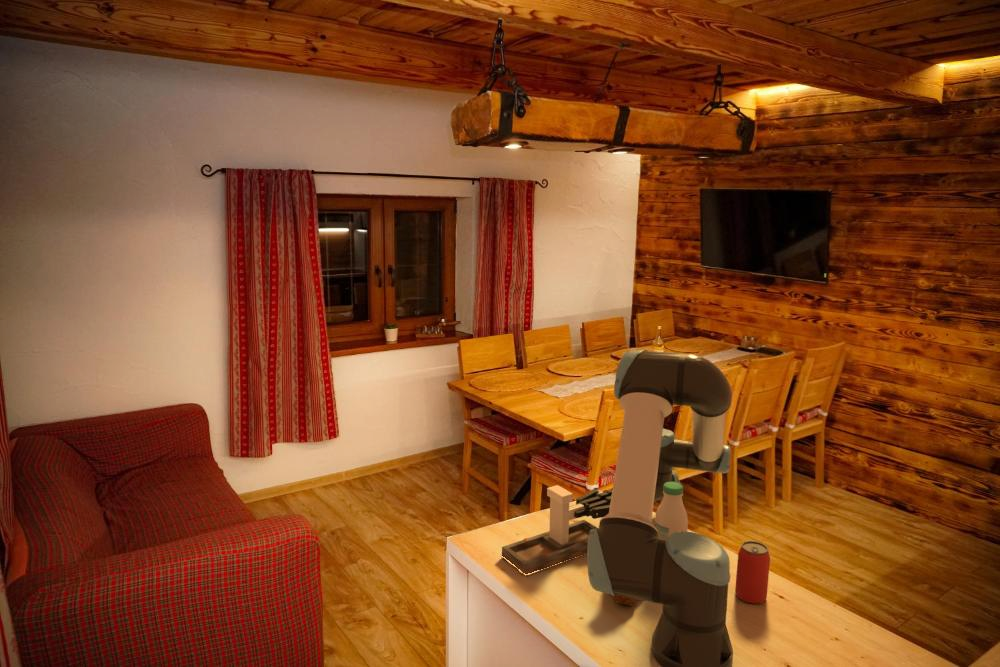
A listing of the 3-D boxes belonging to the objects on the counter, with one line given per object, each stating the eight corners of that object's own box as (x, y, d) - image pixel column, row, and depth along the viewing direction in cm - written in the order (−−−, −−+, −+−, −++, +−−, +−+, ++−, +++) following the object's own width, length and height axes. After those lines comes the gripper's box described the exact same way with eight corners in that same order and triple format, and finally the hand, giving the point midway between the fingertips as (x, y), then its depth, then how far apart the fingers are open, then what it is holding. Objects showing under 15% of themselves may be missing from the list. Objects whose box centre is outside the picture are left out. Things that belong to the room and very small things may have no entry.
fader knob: (558, 537, 174) (559, 483, 172) (574, 548, 169) (576, 493, 166) (542, 542, 172) (543, 488, 169) (559, 553, 166) (560, 498, 163)
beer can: (735, 602, 150) (739, 552, 147) (734, 586, 156) (738, 537, 153) (767, 607, 148) (772, 556, 145) (765, 591, 154) (769, 542, 151)
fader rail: (583, 529, 181) (583, 518, 181) (609, 545, 173) (609, 534, 173) (501, 558, 167) (501, 546, 167) (525, 576, 159) (525, 564, 159)
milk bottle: (682, 554, 169) (687, 479, 165) (687, 571, 162) (692, 492, 158) (650, 553, 170) (654, 477, 166) (654, 569, 162) (658, 491, 158)
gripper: (648, 516, 178) (578, 540, 165) (614, 498, 189) (545, 519, 176) (650, 489, 177) (579, 512, 164) (615, 472, 187) (546, 492, 175)
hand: (562, 516), depth 170 cm, fingers closed
